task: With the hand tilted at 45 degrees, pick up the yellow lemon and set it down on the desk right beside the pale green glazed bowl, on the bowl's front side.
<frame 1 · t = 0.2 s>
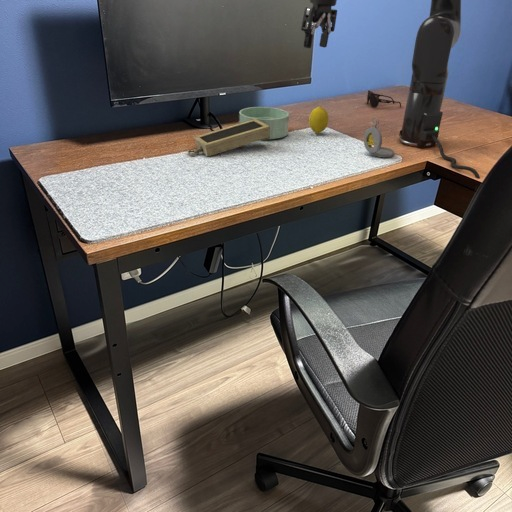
hand: (315, 47, 145), 22 cm above the table, tool pointing down, fingers open, 8 cm apart
box: (227, 149, 129), on the table
pocket watch: (376, 155, 130), on the table
sunglasses: (382, 106, 179), on the table
lemon: (317, 134, 144), on the table
bowl: (263, 133, 142), on the table
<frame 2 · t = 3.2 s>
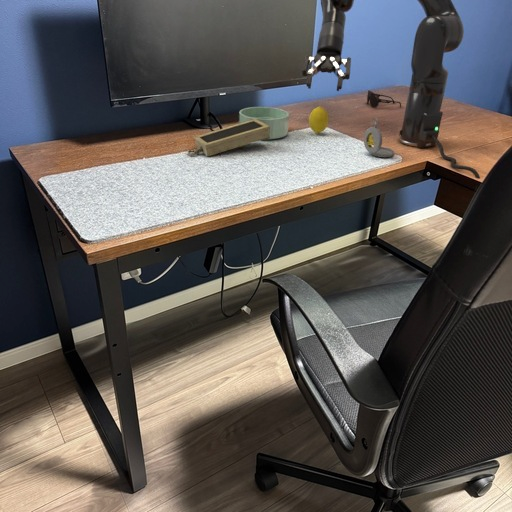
hand: (323, 88, 145), 12 cm above the table, tool tilted 45°, fingers open, 8 cm apart
nothing on the table moved.
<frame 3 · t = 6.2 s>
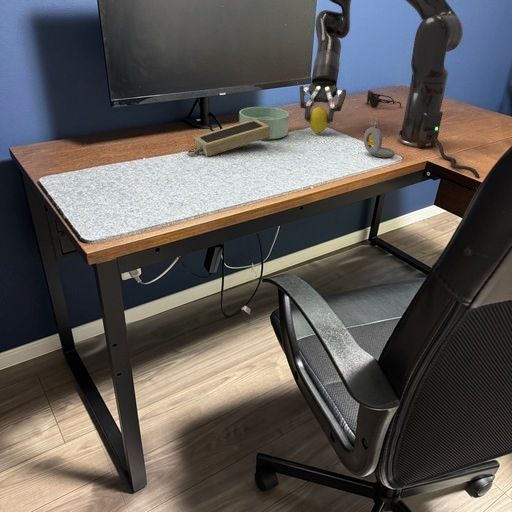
hand: (318, 121, 141), 4 cm above the table, tool tilted 45°, fingers closed on lemon, 5 cm apart
lemon: (317, 134, 144), on the table, touching gripper
everything else where it was.
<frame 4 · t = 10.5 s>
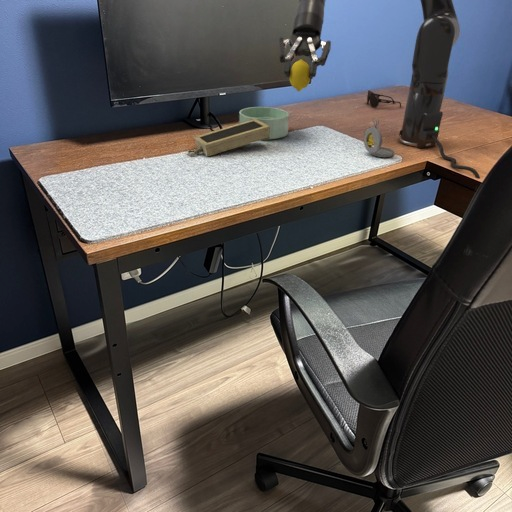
hand: (299, 75, 125), 18 cm above the table, tool tilted 45°, fingers closed on lemon, 5 cm apart
lemon: (298, 92, 129), point 14 cm above the table, touching gripper
everything else where it was.
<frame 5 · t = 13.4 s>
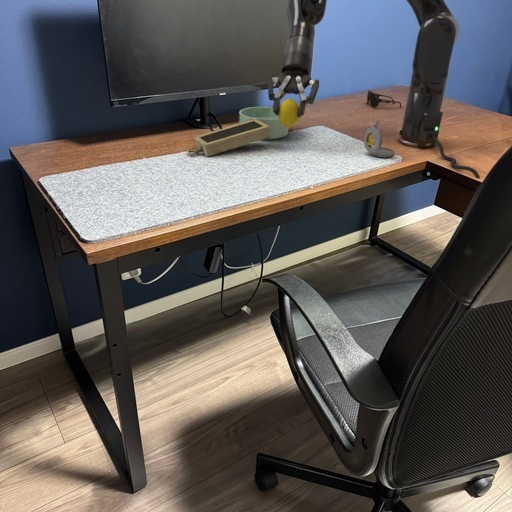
hand: (287, 114, 127), 9 cm above the table, tool tilted 45°, fingers closed on lemon, 5 cm apart
lemon: (287, 129, 130), point 5 cm above the table, touching gripper
everything else where it was.
when the fingers open (4 cm above the table, at t = 15.3 s): lemon stays where it is, on the table.
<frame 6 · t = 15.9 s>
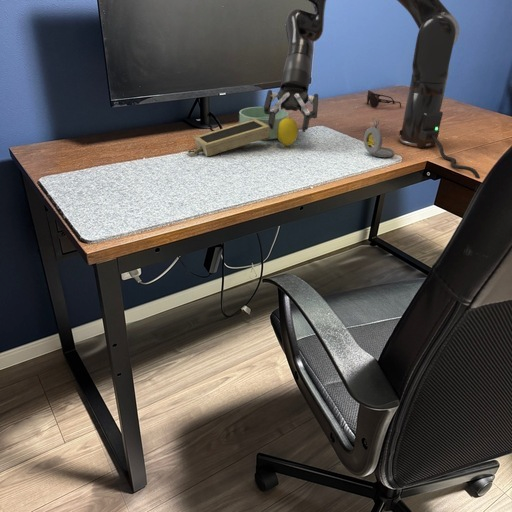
hand: (287, 128, 129), 5 cm above the table, tool tilted 45°, fingers open, 8 cm apart
lemon: (286, 147, 133), on the table
everything else where it was.
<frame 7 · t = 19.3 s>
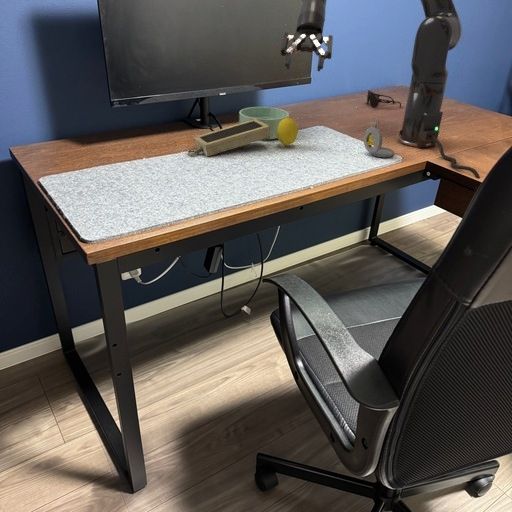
hand: (303, 68, 135), 18 cm above the table, tool tilted 45°, fingers open, 8 cm apart
nothing on the table moved.
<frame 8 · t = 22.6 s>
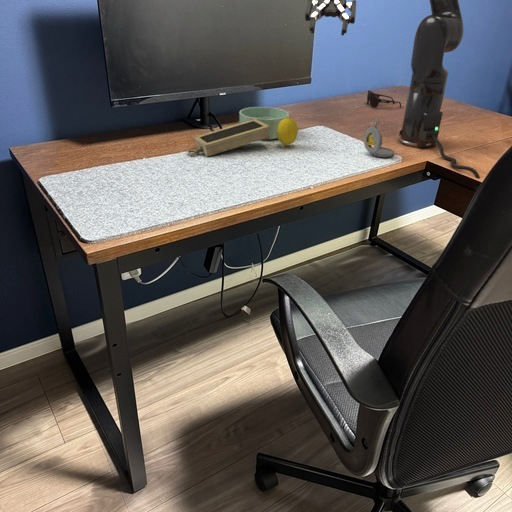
hand: (327, 32, 138), 27 cm above the table, tool tilted 45°, fingers open, 8 cm apart
nothing on the table moved.
at the end: lemon inside the target area on the table beside the bowl (0.2 cm from its centre), on the table; lemon touching table; the gripper is holding nothing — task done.
